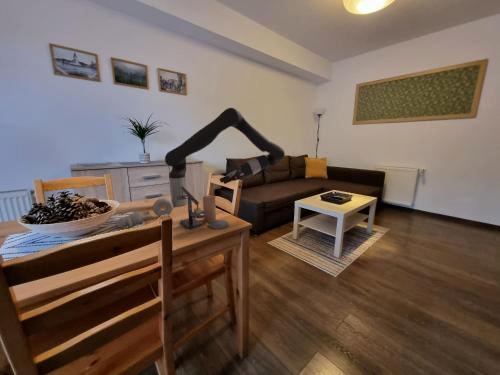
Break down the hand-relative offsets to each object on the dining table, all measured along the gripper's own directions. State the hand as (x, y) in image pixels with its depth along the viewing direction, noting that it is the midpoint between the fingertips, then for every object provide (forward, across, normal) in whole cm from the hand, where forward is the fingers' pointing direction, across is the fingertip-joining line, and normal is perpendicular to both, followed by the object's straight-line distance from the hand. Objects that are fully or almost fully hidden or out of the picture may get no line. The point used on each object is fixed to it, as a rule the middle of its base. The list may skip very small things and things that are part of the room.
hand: (221, 181), depth 103 cm
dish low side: (+11, +6, +17) cm, 21 cm away
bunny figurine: (+46, -8, +2) cm, 46 cm away
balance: (+22, +1, +12) cm, 25 cm away
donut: (+34, -15, +6) cm, 37 cm away
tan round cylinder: (+13, -2, +15) cm, 20 cm away
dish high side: (+16, -11, +13) cm, 23 cm away
